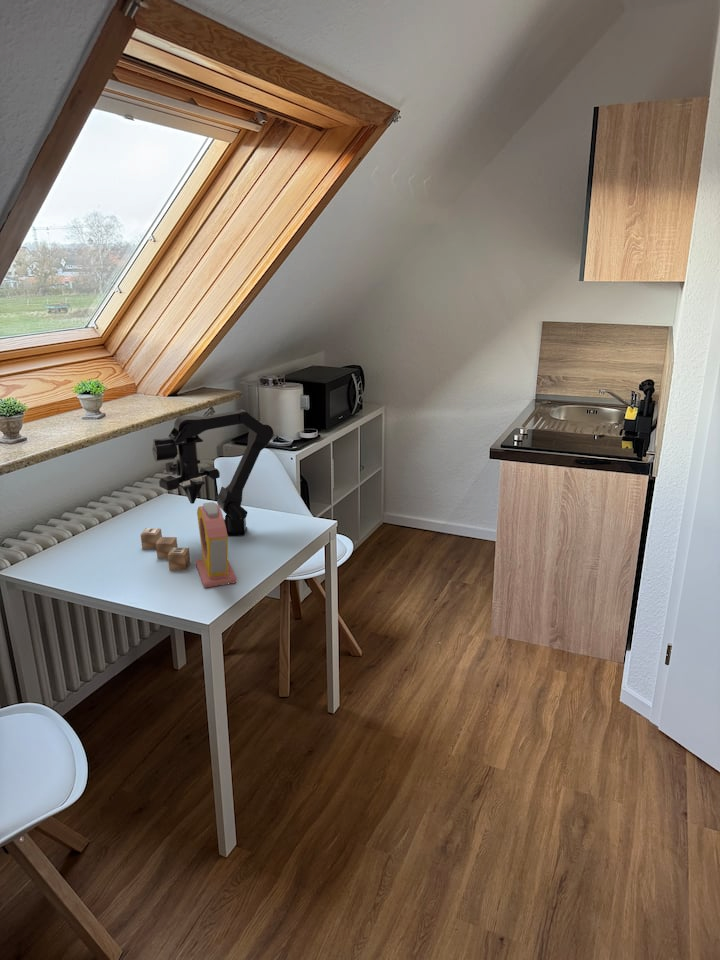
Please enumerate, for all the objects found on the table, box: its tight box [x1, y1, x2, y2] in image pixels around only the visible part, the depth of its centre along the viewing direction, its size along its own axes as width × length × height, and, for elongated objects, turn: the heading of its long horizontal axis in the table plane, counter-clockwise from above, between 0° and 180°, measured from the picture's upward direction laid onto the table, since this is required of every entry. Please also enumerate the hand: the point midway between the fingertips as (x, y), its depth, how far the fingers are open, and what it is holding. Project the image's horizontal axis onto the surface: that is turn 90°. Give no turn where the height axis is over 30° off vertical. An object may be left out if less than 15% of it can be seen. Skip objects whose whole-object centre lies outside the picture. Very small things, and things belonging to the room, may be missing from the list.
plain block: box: [155, 536, 179, 559], centre depth 215 cm, size 5×5×5 cm
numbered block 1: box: [140, 527, 163, 550], centre depth 222 cm, size 5×5×5 cm
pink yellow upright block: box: [195, 501, 238, 589], centre depth 200 cm, size 22×9×22 cm, turn 21°
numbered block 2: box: [167, 547, 191, 571], centre depth 207 cm, size 5×5×5 cm
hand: (192, 503), depth 222 cm, fingers closed
